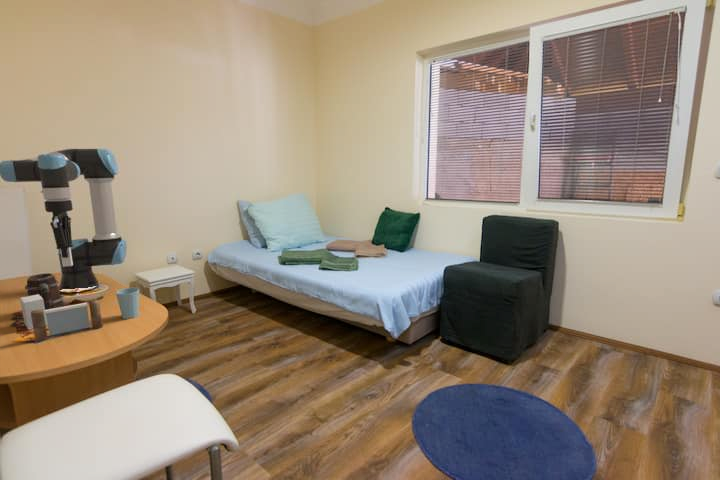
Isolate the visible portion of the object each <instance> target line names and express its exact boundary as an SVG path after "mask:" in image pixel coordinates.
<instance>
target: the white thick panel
mask: <svg viewBox="0 0 720 480" xmlns="http://www.w3.org/2000/svg"><path fill="white" fill-rule="evenodd" d="M88 307H89V304H88V302H82V303H78V304H70V305H65V306H64V307H59V308H53V309H48V310H45V314H46V318H47V324H48V325H47V328H48V330H47V331H48V334H49V335H48V336H50V335H55V334H59V333H64V332H69V331H74V330H78V329H83V328H88V327H90V328H91V325H90V317H89V311H88Z"/></svg>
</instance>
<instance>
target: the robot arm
mask: <svg viewBox="0 0 720 480" xmlns="http://www.w3.org/2000/svg"><path fill="white" fill-rule="evenodd" d="M117 162H118V161H117V160H116V157H115V155H114V153H113V152H112V151H111V150H109V149H106V148H105V149H104V148H66V149H62V150H56V151H50V152H48V153H46V154H45V153H44V154H38V156H37V157H31V158H25V159H19V160H18V159H17V160H12V159H9V160H2V161H0V178H1V179H2V180H3V181H5V182H7V183H26V182H27V183H29V182H32V183H33V182H40V183H41V188H42V190H40V193H41V194H42V195H43V199H44V200H45V201H44V202H43V203H44V210H45V212H47V213H52V217H51V220H52V221H50V227H51V229H52V232H53V236H54V240H55V244H56V245H55V246H56V249H57V252H58V253H57V254H58V255H57V256H58V259H59V265H60V272H61V278H60V281H59V285H58V289H59V291H60V290H62V289H75V288H88V287H93V286H98V285H99V280H98V278H97V277H96V275H95V273H94V271H93V267H98V266H114V265H121V264H123V263H124V261H125V260H126V258H127V257H126V255H127V247H128V246H127V240H125V239H123V238H122V235H121V234H119V232H118V231H117V222H116V214H115V213H116V212H115V206H114V197H113V195H114V194H113V186H112V181H114V180H115V176H117V175H118V173H119V171H118V169H119V168H118V163H117ZM80 176H83V178H84V180H85V181H86V182H87V183H88V187H89V194H90V203H91V209H92V219H93V225H94V232H95V234H94V235H93V236H92V238H91V241H89V238H78V239H72V228H71V227H72V226H71V223H72V218H71V217H69V214H68V212H70V211H73V209H74V208H73V203H72V200H71V198H72V195H71V188H70V182H72V181H75V180H77V179H78V178H79V177H80ZM98 287H99V286H98Z"/></svg>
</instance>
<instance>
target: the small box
mask: <svg viewBox="0 0 720 480" xmlns="http://www.w3.org/2000/svg"><path fill="white" fill-rule="evenodd" d="M19 300H20V301H19V302H20V307H21V311H22V317H23V322H24V325H25V326H26V328H27V330H28V331H31V330H34V329H33V323H32V318H31V311H34V310H40V309H43V312H44V318H45V324H46V327H48V324H47V318H46V314H45V307H44V301H43V298H42V297H41V296H40V295H39V294H37V295H32V296H28V295H27V296H22V297H19Z"/></svg>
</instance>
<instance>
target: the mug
mask: <svg viewBox="0 0 720 480" xmlns="http://www.w3.org/2000/svg"><path fill="white" fill-rule="evenodd" d="M58 284H60V281H59V280H56V276H55V275H54V274H52V273H48V272H47V273H39V274H33V275H31V276H29V277H28V278H27V280H26V285H25V287H24V290H27V296H32V295H37V294H39V295H40V296H41V297H42V298H43V301H44V307H45V310H48V309H53V308H59V307H64V306H66V303H65V302H64V300H63V299H64V296H63V295H62V294H61V292H60V290H59V285H58Z"/></svg>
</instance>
